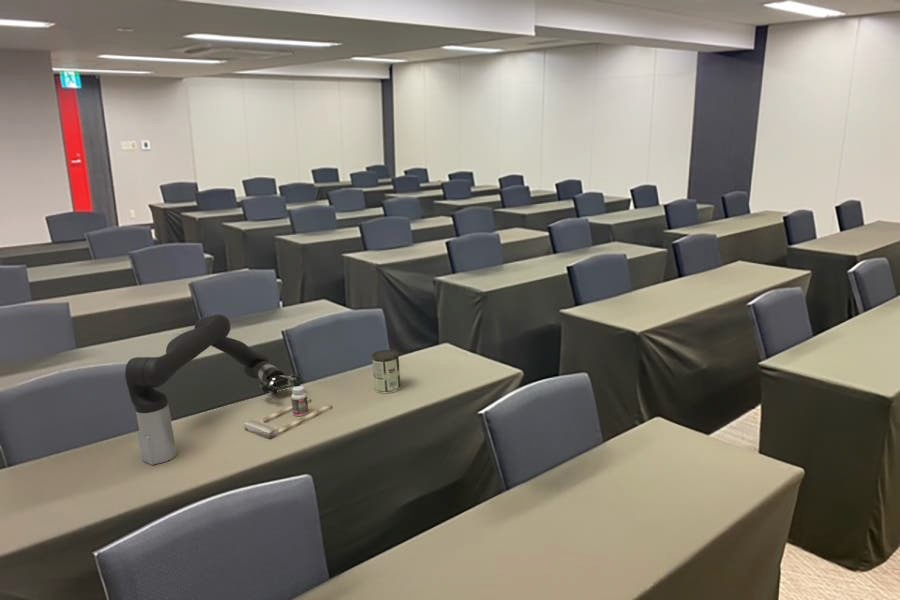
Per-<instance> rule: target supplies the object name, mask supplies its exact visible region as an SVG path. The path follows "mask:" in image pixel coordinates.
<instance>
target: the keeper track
mask: <svg viewBox="0 0 900 600" xmlns="http://www.w3.org/2000/svg"><path fill="white" fill-rule="evenodd" d="M311 402H312V399H311V398H309V397H307V403H308V404H309V403H311ZM331 408H332V409H333V405H331V404H325V405H324V406H323V407H321V408H319V409H316V410H314V411H313V412H312V411H311V413H307V414H306V415H304V416H301V417H300V418H298V419H297V420H294V421H292V422H290V423H288V424H286V425H284V426H282V427H280V428H279V427H278V426H274V425H271V424H269V422H272V421H273V420H276V419H277V418H280V417H281V416H284V415H286V414H289V413H290V412H293V407H292V404H291V405H288V406H287V407H285V408H282V409H281V410H279V411H277V412H274V413H273V414H270V415H268V416H266V417H264V418H262V419H256V418H252V419H250V420H248V421H246V422H244V423H243V427H244V431H246V432H249V433H252V434H254V435H257V436H259V437H262V438H264V439H267V440H269V441H270V440H272V439H274V438H276V437H278V436H280V435H282V434H284V433H286V432H289V431H291V430H292V429H294V428H295V427H298V426H300V425H302V424H304V423H306V422H308V421H310V420H312V419H314V418H316V417H318V416H320V415H322V414H324V413H326V412H328V411H329V409H330V410H332V409H331ZM327 410H328V411H327ZM325 411H326V412H325ZM323 412H324V413H323ZM321 413H322V414H321ZM319 414H320V415H319ZM315 416H316V417H315ZM305 421H306V422H305ZM303 422H304V423H303ZM301 423H302V424H301ZM283 432H284V433H283ZM281 433H282V434H281ZM279 434H280V435H279ZM277 435H278V436H277Z"/></svg>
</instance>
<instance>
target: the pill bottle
mask: <svg viewBox="0 0 900 600" xmlns="http://www.w3.org/2000/svg"><path fill="white" fill-rule="evenodd" d="M290 397H291V405H292V407H293V410H292V413H293V414H292V415H294V416H295V417H304V416H306V415H308V414H309V405H308V404H309V403H307V398H308V397H307V392H305V387H304V386H302V385H300V386H297V387H295V386H294V387H293V388H292V394H291V396H290Z"/></svg>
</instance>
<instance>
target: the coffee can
mask: <svg viewBox="0 0 900 600" xmlns="http://www.w3.org/2000/svg"><path fill="white" fill-rule="evenodd" d="M371 359H372V361H371V362H372V371H373V372H372V373H373V381H374V391H375V393H378V392H379V394H384V393H387V394H392V392H393V393H396V392H398V391H399V390H401V389H402V386H401V372H400V360H399V351H397V350H393V349H382V350H378V351H375V352H373V353H372V354H371ZM400 388H401V389H400Z"/></svg>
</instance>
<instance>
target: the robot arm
mask: <svg viewBox="0 0 900 600" xmlns="http://www.w3.org/2000/svg"><path fill="white" fill-rule="evenodd" d="M230 331H231V322H230V320H229V319H228V318H227V316H225V315H222V314H214V315H209V316H205V317H202V318H199V319H197V321H195V323H194V328H193V329H189V330H187V331H186V332H183V333H180V334H179V335H177V336H176V337H174V338H172V339H171V340H170V341H169V343H168V344H167V345H166V348H165V354H163V355H161V356H152V357H151V356H146V357H145V356H144V357H143V356H140V357H139V356H137V357H133V358H130V359H129V360H128V362H127V363H126V365H125V369H124V370H125V371H124V372H125V373H124V374H125V376H124V377H125V382H126V386H127V389H128V393H129V397H130V400H131V403H132V405H133V406H134V410H135V413H136V418H137V424H138V430H139V431H138V432H137V440H138V445H139V449H140V455H141V459H142V461H143V462H145V463H147V464H149V465H151V466H155V465H158V464H162V463H166V462H168V460H169V461H170V460H172V459H174V458H175V457H176V456H177V455H178V453H177V452H178V450H177V445H176V442H175V436H174V435H175V434H174V429H173V424H172V423H173V422H172V418H171V412H170V407H169V406H170V405H169V402H168V397H167V395H166V394H165V393H163V392H161V391H159V390H156V389H155V388H159V387H161V386H163V385H165V383H166V382H168V381H169V380H170V379H171V378H172V377H173V376H174V375H175V374H176V373H177V372H178V371H179V370H181V369H182V368H183V367H184V366H185V365H187V364H188V363H190V362H191V361H193V360H194V359H195V358H197V357H198V356H199V355H200V354H202V353H203V352H204V351H206V350H207V349H208V348H209V347H212V348H214V349H216V350H219V351H221V352H223V353H225V354H227V355H228V356H230V357H231V358H233V359H234V360H235V361H236V362H238V364H240V365H242V366H243V372H244V373H245V375H247V376H248V377H250V378H254V379H259V380H260V381H259V388H260V390H261V391H263V393H264V394H265V393H266V394H267V393H268V392H269V393H272V394H274V395H277V394H278V388H280V387H284V386H285V387H290V386H294V387H297V386H301V377H300V375H298V374H296V373H294V372H291V374H290V375H286V374H285V373H284V372H283V371H282V370H281V369H279V368H277V366H274V365H272V364H271V363H270V359H269V356H267V355H266V354H265V353H263V352H261V351H256V350H254V349H253V348H251V347H249V346H248V345H247V344H246V343H245V342H242V341H241V340H238V339H235V338H232V337H228V335H230ZM154 464H155V465H154Z"/></svg>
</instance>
